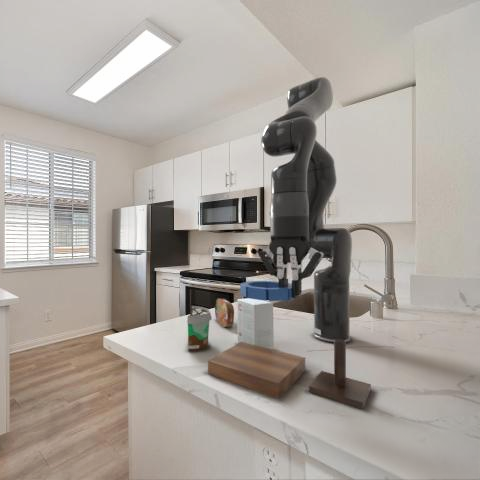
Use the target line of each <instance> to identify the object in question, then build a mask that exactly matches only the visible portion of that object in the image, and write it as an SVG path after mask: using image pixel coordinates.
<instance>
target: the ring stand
mask: <svg viewBox="0 0 480 480" xmlns="http://www.w3.org/2000/svg"><path fill="white" fill-rule="evenodd" d="M371 391H372V384H371V383H368V382H364V381H361V380H357V379H353V378H350V377H347V342H346V341H345V340H343V339H334V343H333V373H332V372H327V371H324V370H321V371H319V373H318V374H317V376H315V378H314V379H313V381H312V382H311V383H310V384H309V385H308V392H309V393H310V394H311V393H312V394H315V395H318V396H320V397H323V398H327V399H331V400H333V401H336V402H339V403H342V404H345V405H348V406H352V407H354V408H357V409H360V410H363V409H364V407H365V406H366V403H367V401H368V398H369V395H370V393H371Z"/></svg>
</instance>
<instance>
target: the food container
mask: <svg viewBox="0 0 480 480" xmlns="http://www.w3.org/2000/svg"><path fill="white" fill-rule="evenodd" d="M210 321H212V313H211V311H210V309H209V308H206V307H203V306H197V305H191V311H190V313H189V315H187V345H188V347H187V348H188V349H187V350H188V352H190V353H191V352H192V353H193V352H200V351H204V350H206V349H207V348H208V346H209V334H210V333H209V332H210Z"/></svg>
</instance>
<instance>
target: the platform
mask: <svg viewBox="0 0 480 480" xmlns="http://www.w3.org/2000/svg"><path fill="white" fill-rule="evenodd" d="M305 372H306V357H304V356H301V355H296V354H292V353H288V352H284V351H281V350H276V349H274V350H273V349H269V348H265V347H261V346H257V345H253V344H249V343H245V342H240V343H238V342H237V343H236V344H235V345H233V346H231V347H230V348H227V349H226V350H224V351H222V352H220V353H219V354H216V355H215V356H213V357H212V358H210V359H208V360H207V374H209V375H211V376H214V377H217V378H220V379H223V380H224V381H228V382H230V383H233V384H236V385H239V386H242V387H245V388H247V389H250V390H252V391H256V392H258V393H261V394H264V395H266V396H269V397H272V398H276V399H278V400H279V399H280V398H281V397H282V396H283V395H284V394H285V393H286V392H287V391H288V390H289V389H290V387H292V385H293V384H294V383H295V382H296V381H297V380H298V379H299V378H300V377H301V376H302V375H303V374H304V373H305Z"/></svg>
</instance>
